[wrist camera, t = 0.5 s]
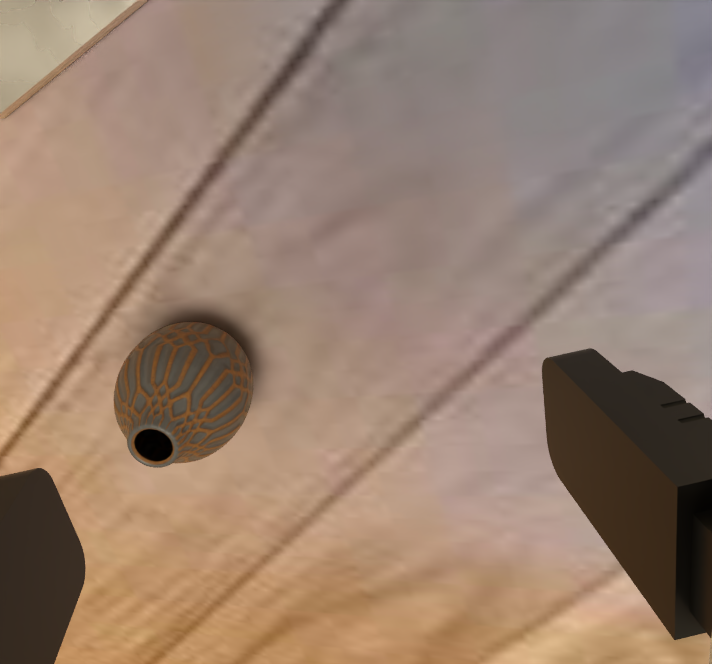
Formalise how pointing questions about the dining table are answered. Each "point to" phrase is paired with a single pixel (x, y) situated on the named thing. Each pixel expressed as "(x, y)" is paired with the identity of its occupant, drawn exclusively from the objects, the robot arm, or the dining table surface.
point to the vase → (182, 394)
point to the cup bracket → (49, 40)
